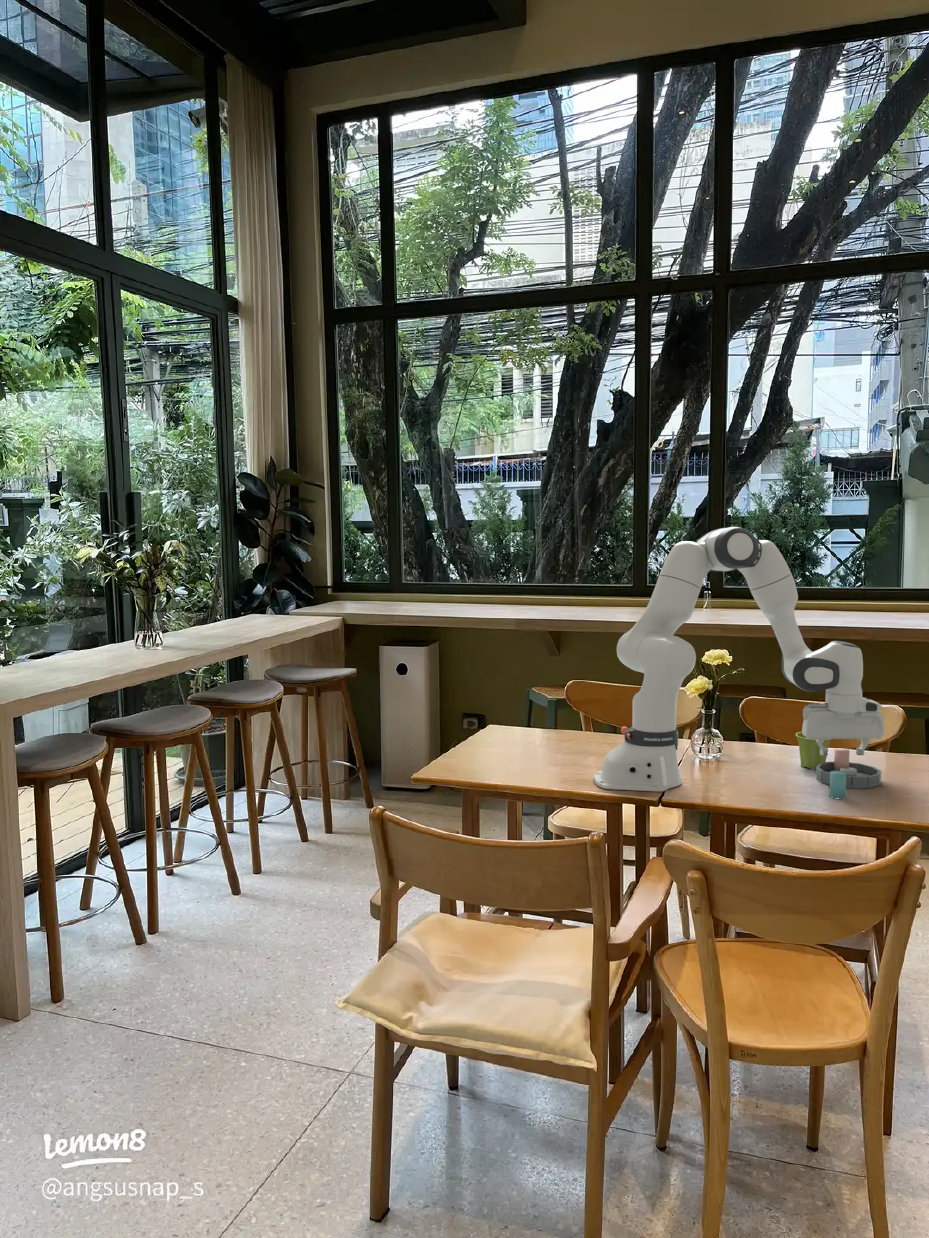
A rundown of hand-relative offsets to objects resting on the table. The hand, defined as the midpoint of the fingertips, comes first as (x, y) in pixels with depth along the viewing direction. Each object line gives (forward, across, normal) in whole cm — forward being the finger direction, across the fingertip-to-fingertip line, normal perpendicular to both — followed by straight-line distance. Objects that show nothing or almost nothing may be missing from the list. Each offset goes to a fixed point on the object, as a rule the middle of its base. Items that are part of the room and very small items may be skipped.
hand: (841, 754), depth 239 cm
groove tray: (+6, 0, -4) cm, 7 cm away
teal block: (+6, -8, -18) cm, 21 cm away
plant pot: (+6, -4, +10) cm, 12 cm away
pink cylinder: (+5, 0, 0) cm, 5 cm away
